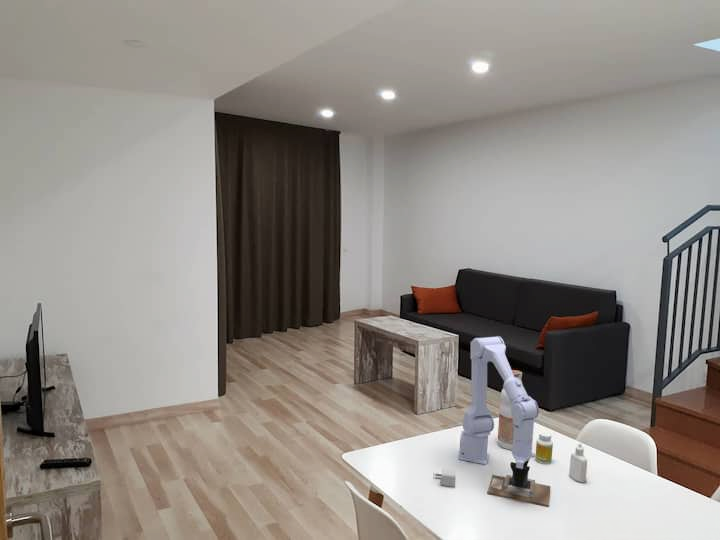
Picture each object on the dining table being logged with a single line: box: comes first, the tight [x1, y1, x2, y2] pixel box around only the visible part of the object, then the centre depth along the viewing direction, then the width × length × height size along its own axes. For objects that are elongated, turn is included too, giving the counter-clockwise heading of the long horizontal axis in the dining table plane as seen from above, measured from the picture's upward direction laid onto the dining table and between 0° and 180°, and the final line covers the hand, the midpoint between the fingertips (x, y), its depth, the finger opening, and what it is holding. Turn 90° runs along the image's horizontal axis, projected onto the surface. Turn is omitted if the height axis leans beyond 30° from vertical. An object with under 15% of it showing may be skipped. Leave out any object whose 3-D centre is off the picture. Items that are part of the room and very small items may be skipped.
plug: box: [512, 472, 529, 489], centre depth 171 cm, size 4×3×6 cm
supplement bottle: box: [535, 431, 554, 465], centre depth 192 cm, size 5×5×10 cm
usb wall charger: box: [432, 468, 457, 488], centre depth 174 cm, size 4×7×4 cm, turn 78°
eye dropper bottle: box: [568, 443, 588, 483], centre depth 179 cm, size 4×6×12 cm
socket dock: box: [486, 474, 551, 508], centre depth 171 cm, size 18×12×3 cm, turn 69°
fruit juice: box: [497, 369, 524, 451], centre depth 202 cm, size 9×9×28 cm
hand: (519, 480), depth 171 cm, fingers open, 7 cm apart
